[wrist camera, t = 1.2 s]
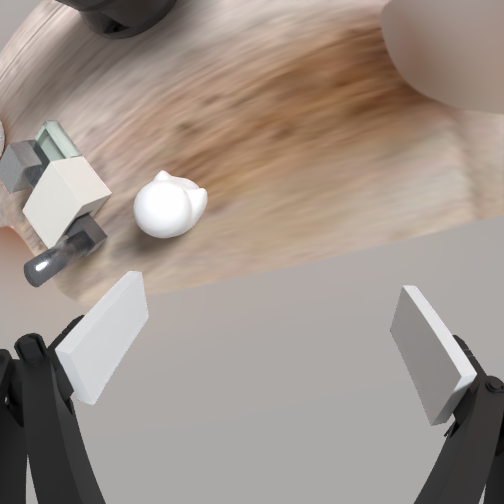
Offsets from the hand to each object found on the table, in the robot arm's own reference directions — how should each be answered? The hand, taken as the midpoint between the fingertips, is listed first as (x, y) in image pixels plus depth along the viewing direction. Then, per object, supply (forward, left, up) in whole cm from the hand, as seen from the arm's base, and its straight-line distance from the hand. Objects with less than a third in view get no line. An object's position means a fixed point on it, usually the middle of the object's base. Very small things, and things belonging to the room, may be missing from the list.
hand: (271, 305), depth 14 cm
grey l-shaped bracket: (-22, -22, -23) cm, 38 cm away
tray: (-28, -22, -26) cm, 44 cm away
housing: (-20, -22, -26) cm, 39 cm away
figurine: (-8, -9, -26) cm, 29 cm away
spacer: (-28, -22, -19) cm, 41 cm away
